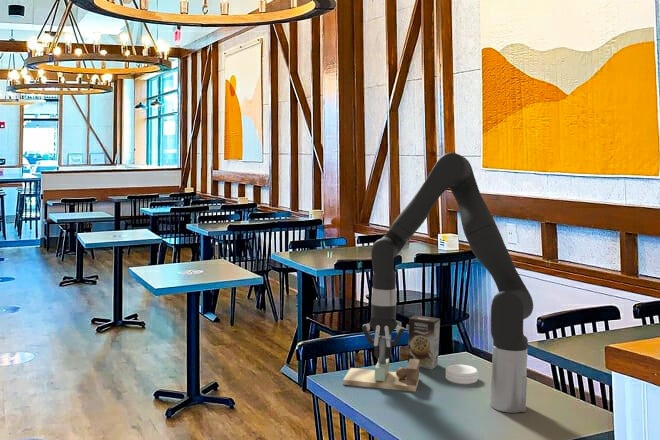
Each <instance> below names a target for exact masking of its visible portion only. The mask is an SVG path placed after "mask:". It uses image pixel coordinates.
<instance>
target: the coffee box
mask: <svg viewBox="0 0 660 440" xmlns="http://www.w3.org/2000/svg"><path fill="white" fill-rule="evenodd" d="M408 319H409V320H408V343H407V344H408V345H407V346H408V347H407V364H408V363H409V360H410V359H419V368H422V369H423V368H425V369H429V370H433V369H434V368H436V367H437V366H438V365H439V346H440V345H439V344H440V326H441V319H440V318H439V317H438V318H437V317H431V316H425V315H417V314H416V315H413V316H410V317H409V318H408Z"/></svg>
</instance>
